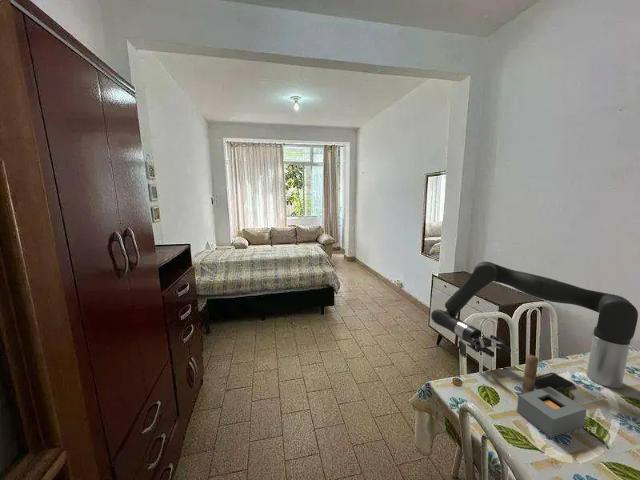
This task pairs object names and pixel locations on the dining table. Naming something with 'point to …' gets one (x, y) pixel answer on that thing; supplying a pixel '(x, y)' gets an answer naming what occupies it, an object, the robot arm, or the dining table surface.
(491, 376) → the dining table surface
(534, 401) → the box
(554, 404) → the button
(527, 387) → the brown wooden rod
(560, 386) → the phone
